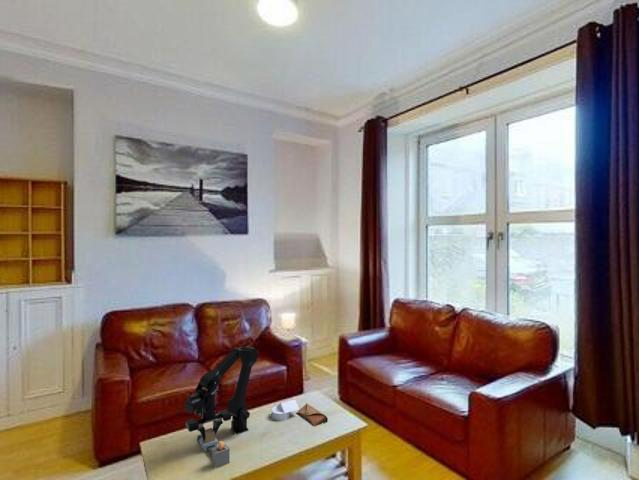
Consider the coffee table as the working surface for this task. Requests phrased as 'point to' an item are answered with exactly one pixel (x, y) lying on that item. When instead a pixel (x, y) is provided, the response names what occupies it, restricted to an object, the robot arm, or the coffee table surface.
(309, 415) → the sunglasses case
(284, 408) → the wedge on round base
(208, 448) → the rail
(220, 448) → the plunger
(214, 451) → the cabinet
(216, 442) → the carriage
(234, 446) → the coffee table surface
